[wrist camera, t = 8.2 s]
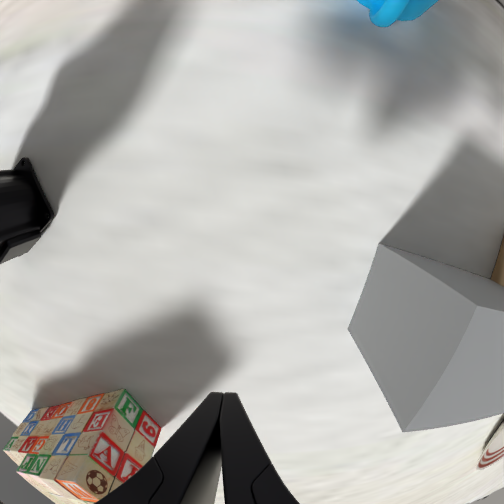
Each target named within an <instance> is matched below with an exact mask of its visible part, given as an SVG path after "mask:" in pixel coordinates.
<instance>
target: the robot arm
mask: <svg viewBox="0 0 504 504" xmlns="http://www.w3.org/2000/svg"><path fill="white" fill-rule="evenodd" d="M24 162H25V165H24ZM48 214H49V218H48ZM53 218H54V213H53V211H52V209H51V207H50V205H49V203H48V201H47V199H46V197H45V195H44V192H43V190H42V188H41V186H40V184H39V182H38V179H37V177H36V175H35V173H34V170H33V168H32V166H31V163H30V161H29V159H28V158H22V159H21V160H20V161H19V163H18V164H17V165H16V167H15V168H14V169H13V170H1V171H0V264H2V263H4V262H6V261H8V260H10V259H13V258H15V257H17V256H21V255H23V254H24V253H27V252H28V251H29V250H30V249H31V248H32V247H33V246H34V244H35V243H36V242H37V241H38V240H39V239H40V237H41V232H42V231H43V230H44V229H45V228H46V227H47V226H48V224H49V223H50V222H51V221H52V220H53ZM154 457H155V458H154ZM154 457H151V458H150V460H149V461H148V462H147V463H146V464H145V465H144V466H143V467H142V468H140V469H139V470H138V471H137V472H136V473H135V474H134V475H133V476H131V477H130V478H129V479H128V480H126V481H125V482H124V483H123V484H121V485H120V486H118V487H117V488H116V489H114V490H113V491H112V492H110V493H109V494H107V495H106V496H104V497H103V498H102V499H100V500H99V501H97V502H95V503H94V504H214V501H215V496H216V491H217V486H218V481H219V476H220V471H221V466H222V474H223V486H224V498H225V504H299V502H298V501H297V500H296V499H295V498H294V496H293V495H292V494H291V493H290V491H289V490H288V489H287V487H286V486H285V485H284V483H283V481H282V480H281V478H280V476H279V475H278V473H277V471H276V470H275V468H274V466H273V464H272V463H271V461H270V459H269V457H268V455H267V453H266V451H265V449H264V447H263V445H262V443H261V442H260V440H259V438H258V436H257V434H256V432H255V430H254V428H253V426H252V424H251V422H250V420H249V417H248V415H247V413H246V411H245V409H244V407H243V405H242V403H241V401H240V399H239V397H238V394H237V393H229V392H226V393H224V394H223V393H222V392H211V393H210V394H209V395H208V396H207V397H206V398H205V399H204V401H203V402H202V403H201V404H200V405H199V406H198V407H197V409H196V410H195V411H194V412H193V413H192V414H191V415H190V416H189V418H188V419H187V420H186V421H185V422H184V423H183V424H182V425H181V427H180V428H179V429H178V430H177V431H176V432H175V433H174V434H173V435H172V436H171V437H170V439H169V440H168V441H167V442H166V443H165V444H164V445H163V446H162V447H161V448H160V449H159V450H158V451H157V452H156V453H155V455H154ZM0 504H4V503H3V502H1V501H0Z"/></svg>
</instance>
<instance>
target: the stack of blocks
mask: <svg viewBox="0 0 504 504" xmlns="http://www.w3.org/2000/svg"><path fill="white" fill-rule="evenodd" d="M160 431H161V427H160V426H159V425H158V424H157V423H156V422H155V421H154V420H153V419H152V418H151V417H150V416H149V415H148V414H147V413H146V412H145V411H144V410H143V409H142V408H141V407H140V406H139V405H138V403H137V402H136V401H135V400H134V399H133V398H132V397H131V396H130V394H129V393H128V392H127V391H126V390H125V389H121V390H117V391H113V392H109V393H103V394H99V395H95V396H91V397H88V398H82V399H78V400H74V401H73V402H70V403H65V404H61V405H58V406H53V407H45V408H40V409H35V410H31V411H30V413H29V414H28V415H27V417H26V418H25V419H24V420H23V422H22V423H21V424H20V425H19V427H18V428H17V430H16V431H15V432H14V434H13V435H12V436H13V437H12V438H11V439H10V440H9V442H8V443H7V445H6V446H5V448H4V449H3V451H4V452H5V453H6V454H7V455H8V456H9V457H10V458H11V459H12V460H13V461H14V462H15V463H16V464H17V465H19V468H18V469H17V472H18V473H19V474H20V475H21V476H22V477H23V478H24V479H25V480H27V481H28V482H29V483H30V484H31V485H33V486H34V487H35V488H36V489H38V490H39V491H40V492H41V493H43V494H44V495H46V496H47V497H48V498H50V499H51V500H52V501H53V502H55V503H56V504H94V503H95V502H97V501H99V500H100V499H102V498H103V497H104V496H106V495H107V494H109V493H110V492H112V491H113V490H114V489H116V488H117V487H118V486H120V485H121V484H123V483H124V482H125V481H126V480H128V479H129V478H130V477H131V476H133V475H134V474H135V473H136V472H137V471H138V470H139V469H140V468H142V467H143V466H144V465H145V464H146V463H147V462H148V461H149V460H150V458H151V457H152V454H153V451H154V448H155V446H156V443H157V440H158V437H159V434H160Z"/></svg>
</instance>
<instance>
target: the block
mask: <svg viewBox="0 0 504 504" xmlns="http://www.w3.org/2000/svg"><path fill="white" fill-rule="evenodd" d="M348 330H349V332H350V334H351V336H352V337H353V339H354V341H355V343H356V345H357V346H358V348H359V350H360V352H361V354H362V355H363V357H364V359H365V361H366V363H367V364H368V366H369V368H370V370H371V372H372V374H373V376H374V377H375V379H376V381H377V383H378V385H379V387H380V389H381V391H382V392H383V394H384V396H385V398H386V400H387V402H388V404H389V406H390V408H391V410H392V412H393V414H394V416H395V418H396V420H397V422H398V424H399V426H400V428H401V430H402V432H410V431H419V430H427V429H434V428H440V427H446V426H452V425H457V424H462V423H467V422H471V421H476V420H480V419H484V418H488V417H492V416H495V415H499V414H502V413H504V287H503V286H502V285H500V284H498V283H496V282H494V281H493V280H491V279H488V278H485V277H483V276H480V275H477V274H474V273H471V272H468V271H465V270H462V269H459V268H456V267H453V266H450V265H447V264H444V263H441V262H438V261H435V260H432V259H429V258H426V257H423V256H419V255H416V254H413V253H410V252H406V251H403V250H400V249H397V248H393V247H390V246H387V245H383V244H380V243H379V244H378V247H377V250H376V254H375V257H374V260H373V263H372V266H371V269H370V272H369V274H368V277H367V280H366V283H365V286H364V288H363V291H362V294H361V296H360V299H359V302H358V304H357V307H356V310H355V312H354V315H353V317H352V320H351V322H350V324H349V327H348Z"/></svg>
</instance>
